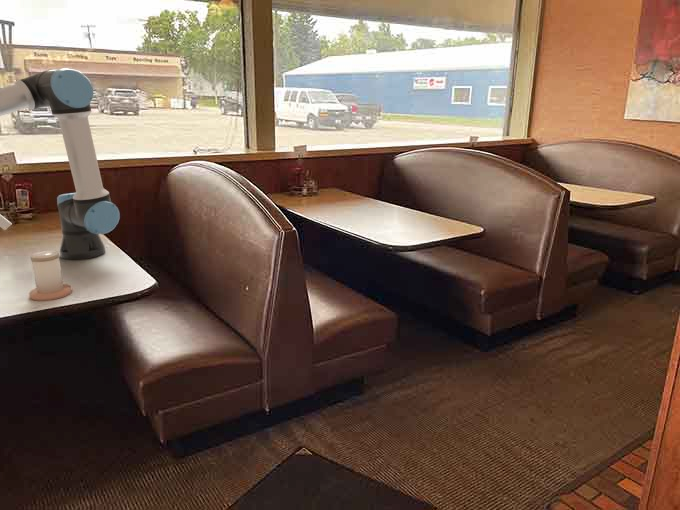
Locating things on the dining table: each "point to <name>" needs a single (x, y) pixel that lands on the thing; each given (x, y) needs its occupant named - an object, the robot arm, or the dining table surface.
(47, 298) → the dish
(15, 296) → the dining table surface
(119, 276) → the dining table surface
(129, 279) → the dining table surface
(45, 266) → the cup
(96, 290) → the dining table surface
